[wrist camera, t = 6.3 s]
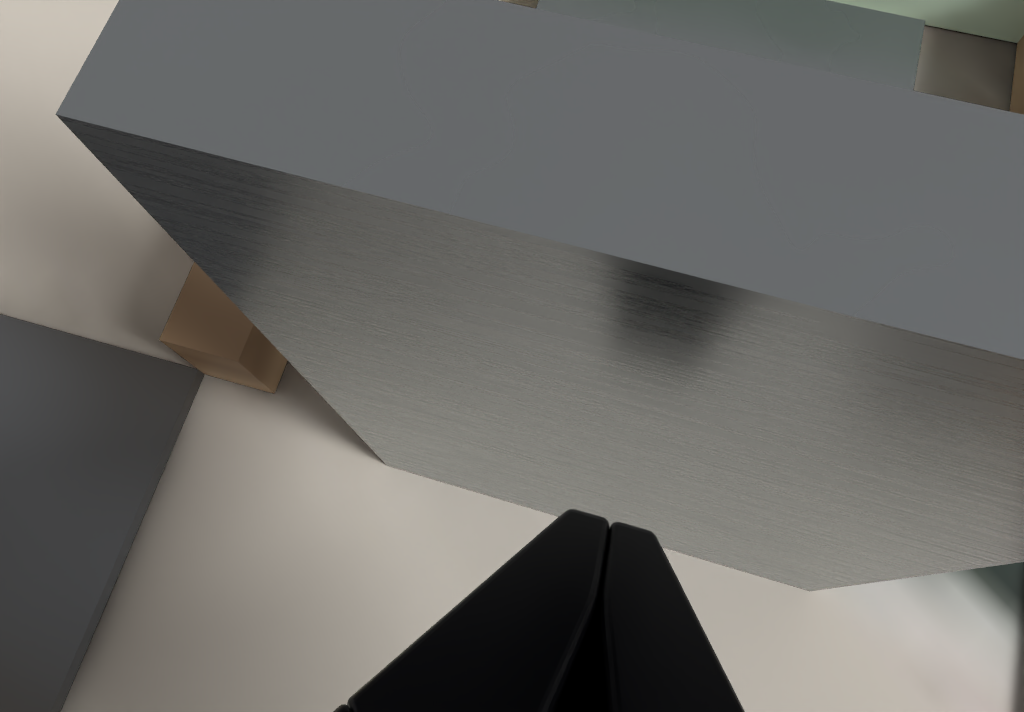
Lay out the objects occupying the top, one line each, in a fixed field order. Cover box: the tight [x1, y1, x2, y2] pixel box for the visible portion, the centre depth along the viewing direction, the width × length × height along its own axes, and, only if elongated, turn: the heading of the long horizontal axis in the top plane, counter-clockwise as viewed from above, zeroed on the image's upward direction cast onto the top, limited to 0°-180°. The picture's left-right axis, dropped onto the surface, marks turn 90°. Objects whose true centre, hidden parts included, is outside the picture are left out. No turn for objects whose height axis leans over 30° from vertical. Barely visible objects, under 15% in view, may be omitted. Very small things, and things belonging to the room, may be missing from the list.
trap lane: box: [0, 35, 1024, 712], centre depth 14 cm, size 25×34×2 cm
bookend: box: [56, 0, 1024, 591], centre depth 11 cm, size 12×8×11 cm, turn 163°
